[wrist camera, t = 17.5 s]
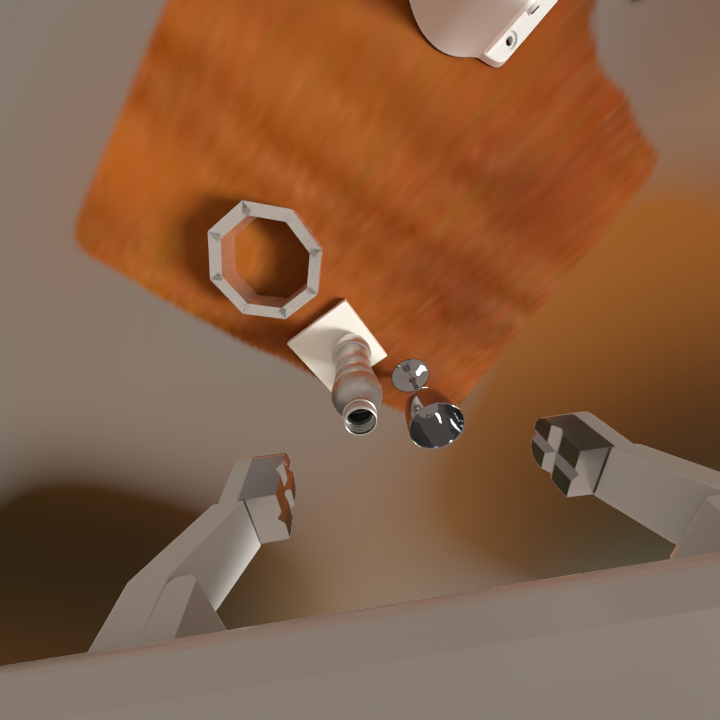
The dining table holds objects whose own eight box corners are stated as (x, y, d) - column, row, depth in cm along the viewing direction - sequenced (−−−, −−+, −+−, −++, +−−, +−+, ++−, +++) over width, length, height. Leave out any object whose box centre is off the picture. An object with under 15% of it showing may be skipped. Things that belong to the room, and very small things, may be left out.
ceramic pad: (345, 298, 46) (345, 300, 45) (385, 352, 51) (387, 355, 50) (288, 340, 49) (287, 344, 47) (332, 388, 53) (332, 392, 52)
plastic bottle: (372, 331, 48) (396, 396, 29) (366, 367, 50) (385, 447, 32) (332, 327, 47) (333, 392, 29) (329, 365, 50) (328, 445, 31)
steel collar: (276, 183, 39) (268, 176, 33) (339, 270, 44) (341, 276, 39) (203, 248, 41) (184, 252, 36) (271, 322, 47) (263, 335, 42)
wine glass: (381, 382, 54) (397, 435, 40) (407, 349, 51) (434, 394, 38) (413, 400, 56) (439, 457, 43) (440, 370, 54) (476, 419, 40)
